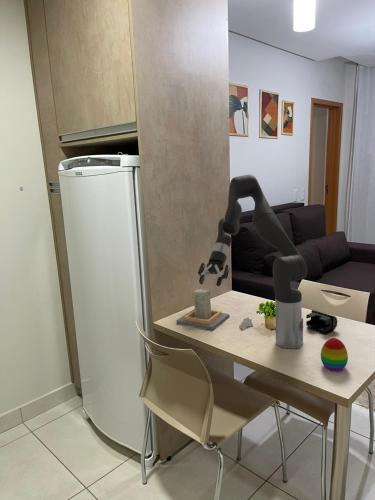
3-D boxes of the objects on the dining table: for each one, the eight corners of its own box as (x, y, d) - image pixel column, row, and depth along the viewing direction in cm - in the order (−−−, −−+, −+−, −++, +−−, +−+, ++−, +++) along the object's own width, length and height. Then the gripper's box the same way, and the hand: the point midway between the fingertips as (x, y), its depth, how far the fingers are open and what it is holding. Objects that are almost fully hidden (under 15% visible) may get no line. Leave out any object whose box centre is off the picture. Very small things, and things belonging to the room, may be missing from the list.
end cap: (337, 330, 150) (337, 314, 148) (326, 335, 146) (327, 319, 144) (315, 323, 158) (316, 308, 156) (305, 328, 154) (305, 312, 152)
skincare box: (211, 316, 167) (210, 290, 165) (207, 319, 164) (205, 292, 161) (199, 314, 170) (197, 288, 168) (194, 317, 167) (192, 291, 164)
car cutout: (246, 323, 162) (246, 313, 161) (257, 328, 157) (257, 318, 156) (219, 333, 154) (219, 322, 154) (229, 338, 149) (229, 327, 148)
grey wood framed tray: (229, 317, 169) (229, 310, 169) (213, 330, 156) (212, 323, 155) (194, 311, 178) (194, 305, 178) (176, 323, 165) (176, 317, 164)
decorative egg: (326, 358, 128) (326, 331, 126) (351, 365, 123) (352, 337, 121) (316, 368, 122) (316, 339, 120) (342, 376, 117) (343, 346, 115)
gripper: (203, 249, 178) (192, 279, 171) (230, 251, 171) (220, 282, 164) (208, 257, 184) (198, 287, 177) (235, 259, 177) (226, 290, 169)
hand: (209, 284), depth 170 cm, fingers open, 8 cm apart
